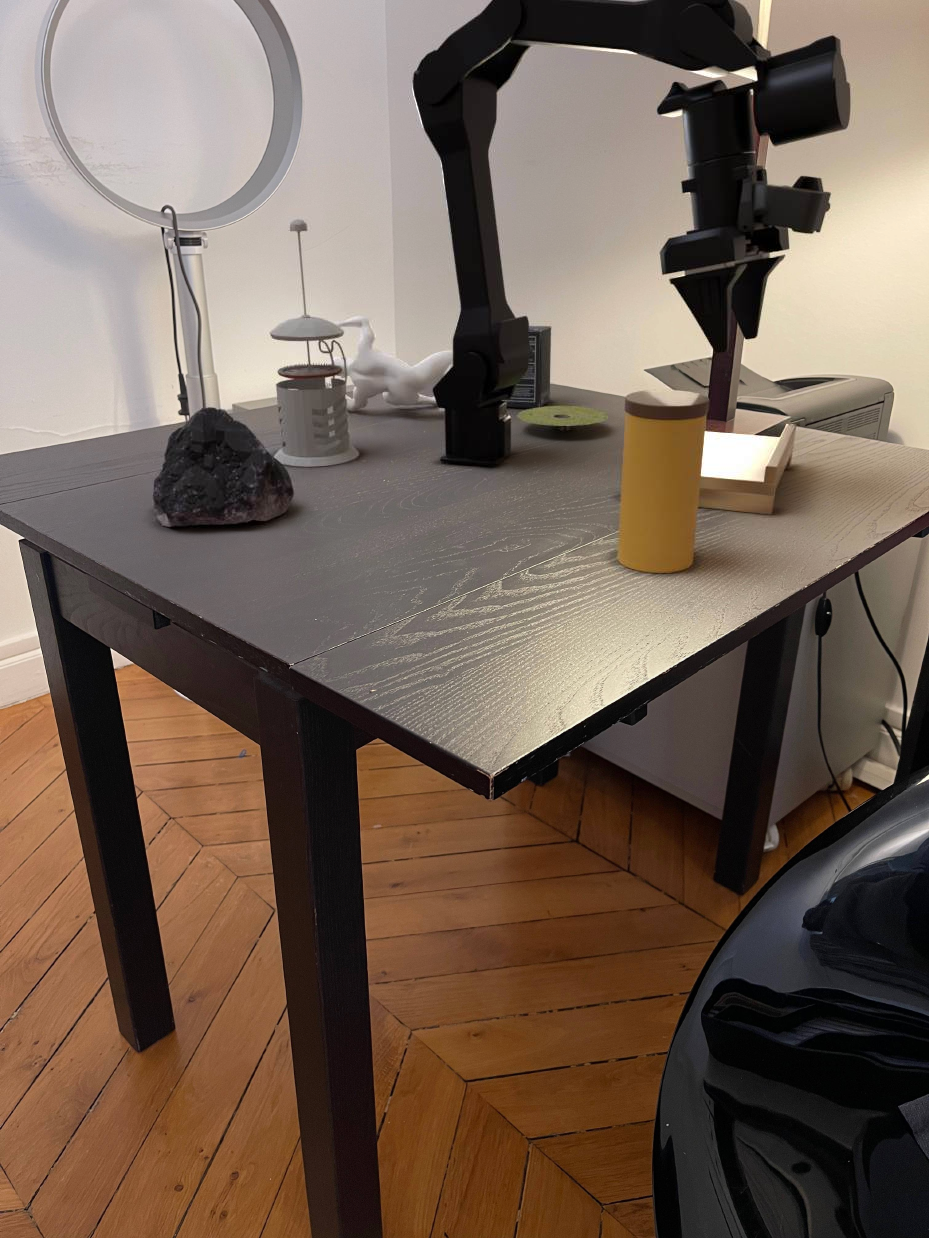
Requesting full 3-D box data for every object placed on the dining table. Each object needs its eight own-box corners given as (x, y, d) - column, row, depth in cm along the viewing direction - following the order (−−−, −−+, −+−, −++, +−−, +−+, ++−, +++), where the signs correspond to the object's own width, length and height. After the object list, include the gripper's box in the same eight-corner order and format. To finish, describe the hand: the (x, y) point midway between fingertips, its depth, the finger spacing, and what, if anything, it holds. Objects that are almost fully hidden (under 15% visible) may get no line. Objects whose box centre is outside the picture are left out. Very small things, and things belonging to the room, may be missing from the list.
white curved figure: (459, 323, 128) (330, 305, 122) (484, 358, 119) (345, 340, 113) (439, 411, 135) (317, 398, 129) (462, 450, 126) (330, 438, 120)
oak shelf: (621, 498, 90) (623, 453, 88) (661, 454, 105) (664, 414, 103) (771, 515, 85) (777, 467, 83) (790, 465, 100) (796, 424, 98)
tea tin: (609, 568, 73) (618, 403, 68) (623, 543, 79) (632, 388, 73) (689, 577, 72) (704, 408, 66) (698, 550, 77) (713, 392, 71)
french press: (256, 462, 104) (230, 220, 94) (309, 439, 114) (291, 217, 104) (333, 470, 101) (314, 220, 91) (381, 445, 111) (369, 217, 100)
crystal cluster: (243, 548, 81) (244, 434, 77) (114, 520, 85) (109, 410, 81) (317, 514, 93) (320, 414, 89) (200, 491, 96) (199, 394, 93)
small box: (551, 400, 133) (553, 324, 129) (540, 410, 128) (541, 330, 123) (481, 397, 136) (481, 322, 132) (467, 405, 131) (466, 328, 126)
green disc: (621, 426, 118) (622, 410, 117) (582, 445, 110) (583, 428, 109) (543, 416, 124) (543, 402, 123) (500, 434, 115) (500, 418, 114)
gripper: (789, 131, 69) (803, 347, 74) (841, 140, 83) (850, 320, 88) (647, 168, 75) (669, 365, 80) (719, 170, 89) (733, 337, 94)
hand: (737, 345), depth 85 cm, fingers open, 9 cm apart
